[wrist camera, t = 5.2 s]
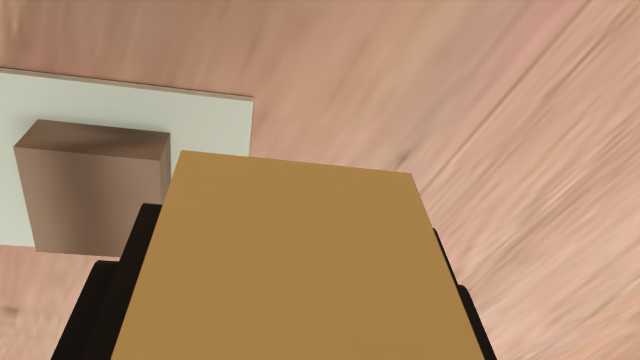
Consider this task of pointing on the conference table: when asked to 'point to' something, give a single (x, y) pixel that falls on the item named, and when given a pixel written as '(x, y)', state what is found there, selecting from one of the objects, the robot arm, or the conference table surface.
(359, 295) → the mustard brick
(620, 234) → the conference table surface
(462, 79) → the conference table surface
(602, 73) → the conference table surface
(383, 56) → the conference table surface
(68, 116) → the plate
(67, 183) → the walnut base brick
